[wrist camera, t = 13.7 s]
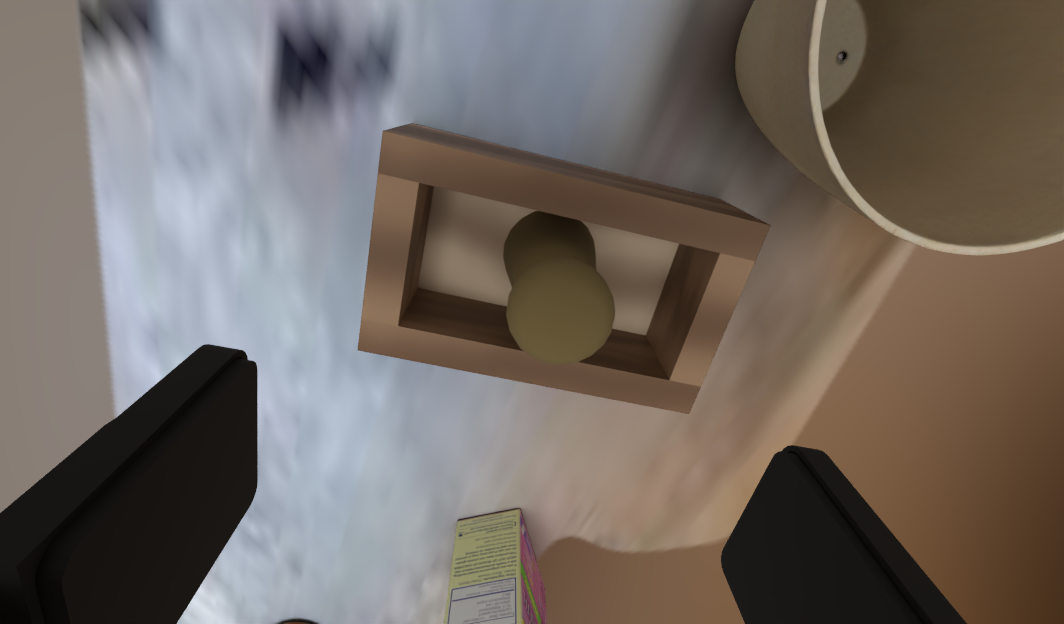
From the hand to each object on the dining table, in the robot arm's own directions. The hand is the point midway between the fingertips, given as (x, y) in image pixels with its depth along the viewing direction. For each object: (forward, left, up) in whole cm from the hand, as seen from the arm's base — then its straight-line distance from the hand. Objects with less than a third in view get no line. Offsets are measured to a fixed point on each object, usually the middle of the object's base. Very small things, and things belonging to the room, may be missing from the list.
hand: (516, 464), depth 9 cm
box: (+31, +6, -25) cm, 41 cm away
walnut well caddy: (+3, +3, -25) cm, 25 cm away
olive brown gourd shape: (+3, +3, -24) cm, 25 cm away
